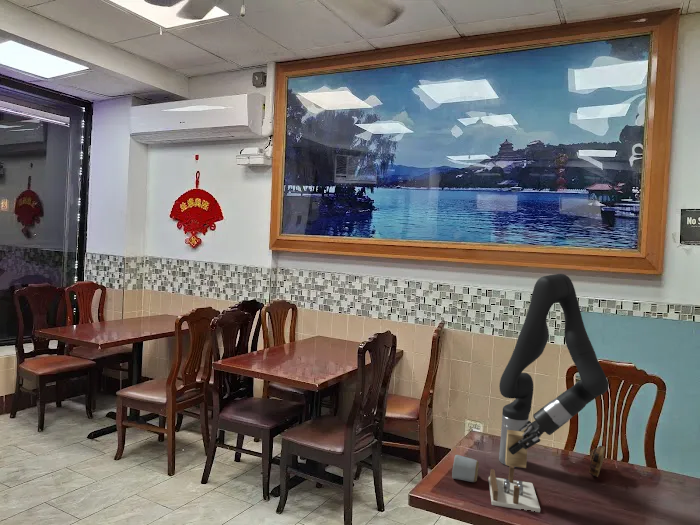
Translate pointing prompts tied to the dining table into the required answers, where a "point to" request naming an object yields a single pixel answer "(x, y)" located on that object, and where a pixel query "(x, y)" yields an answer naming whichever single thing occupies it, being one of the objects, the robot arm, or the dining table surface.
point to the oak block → (520, 456)
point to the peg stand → (506, 500)
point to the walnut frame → (511, 476)
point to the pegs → (507, 487)
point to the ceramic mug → (465, 469)
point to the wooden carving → (596, 460)
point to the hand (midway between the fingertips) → (509, 449)
